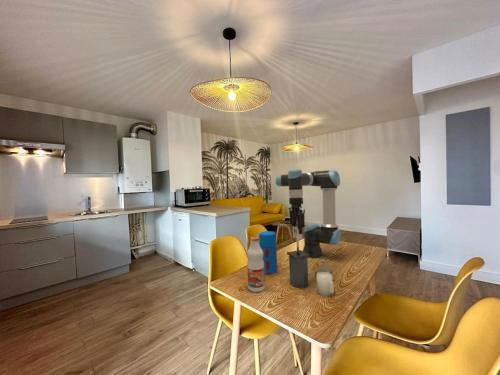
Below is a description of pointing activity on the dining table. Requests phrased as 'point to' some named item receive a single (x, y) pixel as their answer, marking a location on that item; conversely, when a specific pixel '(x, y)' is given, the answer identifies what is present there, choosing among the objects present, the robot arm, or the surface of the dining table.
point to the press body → (298, 269)
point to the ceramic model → (324, 270)
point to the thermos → (268, 251)
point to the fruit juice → (255, 266)
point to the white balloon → (325, 284)
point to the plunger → (296, 238)
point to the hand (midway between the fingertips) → (297, 238)
